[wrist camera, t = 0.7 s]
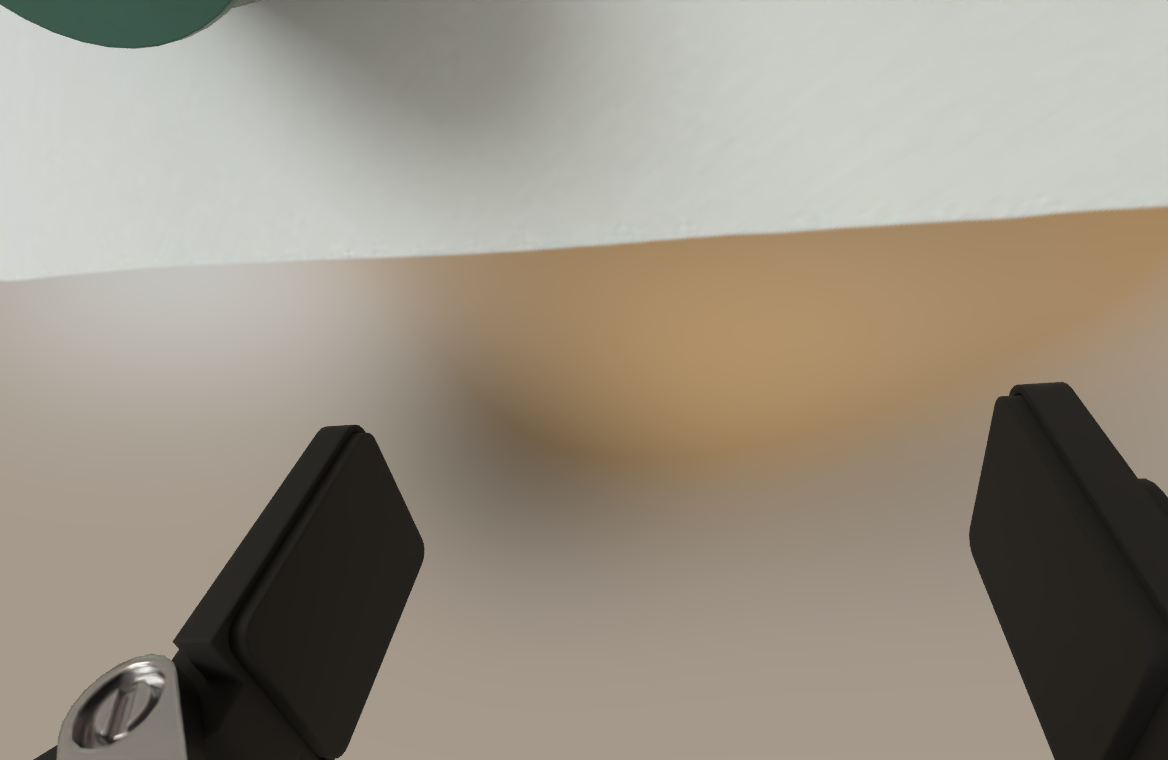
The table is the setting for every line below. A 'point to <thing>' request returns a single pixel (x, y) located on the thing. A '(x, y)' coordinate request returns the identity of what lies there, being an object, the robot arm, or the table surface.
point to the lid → (122, 19)
